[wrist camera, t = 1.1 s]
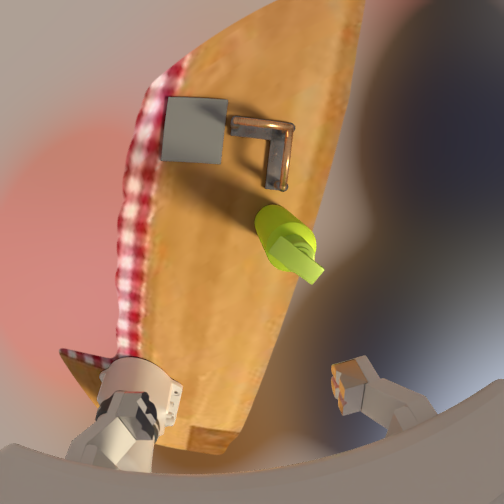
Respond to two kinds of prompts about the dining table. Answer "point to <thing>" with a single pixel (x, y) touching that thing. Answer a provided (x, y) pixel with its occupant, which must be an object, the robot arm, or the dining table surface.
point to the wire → (278, 150)
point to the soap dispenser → (287, 242)
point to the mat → (194, 130)
